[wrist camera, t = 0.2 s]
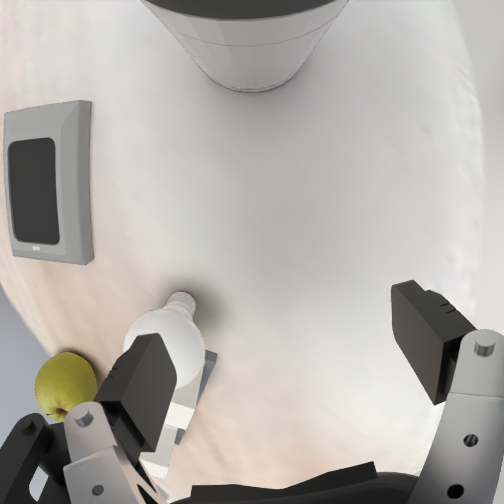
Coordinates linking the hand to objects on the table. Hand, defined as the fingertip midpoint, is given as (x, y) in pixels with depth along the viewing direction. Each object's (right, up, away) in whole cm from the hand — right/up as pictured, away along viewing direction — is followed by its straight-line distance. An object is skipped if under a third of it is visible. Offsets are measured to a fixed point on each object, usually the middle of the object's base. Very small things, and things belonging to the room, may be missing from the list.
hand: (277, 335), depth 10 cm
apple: (-22, -12, +24) cm, 35 cm away
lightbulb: (-7, -2, +20) cm, 21 cm away
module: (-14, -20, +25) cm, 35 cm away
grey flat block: (-20, +10, +16) cm, 28 cm away
